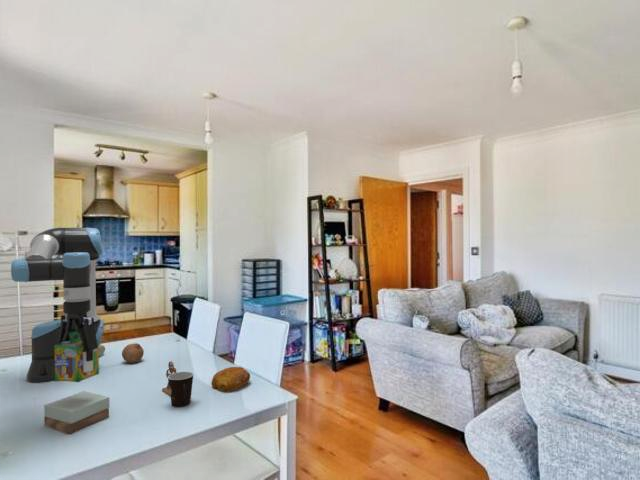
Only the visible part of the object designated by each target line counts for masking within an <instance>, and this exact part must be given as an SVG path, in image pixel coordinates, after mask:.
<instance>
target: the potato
mask: <svg viewBox="0 0 640 480" xmlns="http://www.w3.org/2000/svg"><path fill="white" fill-rule="evenodd" d="M250 379H251V374H250V373H249V371H248V370H247V369H245V368H243V367H242V366H231V367H225V368H224V369H222V370H219V371H218V372H215V374H214V375H213V376H212V379H211V383H210V384H211V386H212V389H214V390H218V391H219V392H220V391H221V392H224V393H228V392H229V393H231V392H234V391H235V390H236V391H237V390H238V389H240V388H242V387H243V386H245V385H247V384H248V382H249V381H250Z"/></svg>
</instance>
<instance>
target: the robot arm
mask: <svg viewBox="0 0 640 480" xmlns="http://www.w3.org/2000/svg"><path fill="white" fill-rule="evenodd" d="M103 254H104V250H103V244H102V237H101V232H100V230H99V229H98V228H96V227H53V228H49V229H47V230H44V231H42V232H40V233H38V234H36V235H35V236H34V237H33V238H32V239H31V241H30V244H29V251H28V252H27V254H26V256H25V257H24V258H15V259H13V260H12V262H11V265H10V276H11V279H12V281H14V282H15V283H16V282H17V283H18V282H19V283H28V282H31V283H32V282H45V281H46V282H47V281H62V282H63V284H62V285H63V286H62V287H63V291H62V294H63V296H62V297H63V300H64V301H63V303H62V304H63V306H62V308H63V309H62V310H63V311H62V312H63V315H61V316H60V319H56V320H50V321H47V322H45V321H44V322H41V323H39V324H36V325H34V327H32V329H31V337H30V339H31V361H30V365H29V368H28V370H27V374H26V381H27V382H29V383H44V382H51V381H55V347H54V345H56V344H59V343H62V342H65V341H69V340H70V337H69V333H71V332H74V331H77V332H78V333H79V335H80V338H81V341H82V344H83V347H84V350H83V372H88V371H91V370H93V350H94V349H97V348H98V344H97V340H99V345H100V344H101V343H102V338H103V331H104V320H103V319H101V318H100V317H101V316H100V315H98V314H97V299H96V297H97V295H96V293H97V291H96V287H97V286H96V285H97V284H96V283H97V282H96V278H97V277H96V263H97V261H99V260H100V256H101V255H103ZM54 256H62V257H54ZM73 339H78V335H74V336H73Z"/></svg>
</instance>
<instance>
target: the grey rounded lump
mask: <svg viewBox="0 0 640 480" xmlns="http://www.w3.org/2000/svg"><path fill="white" fill-rule="evenodd" d="M105 351H106V347H105V346H104V345H103V344H101V343H100V345H99V357H100V356H102V355H104V353H105Z"/></svg>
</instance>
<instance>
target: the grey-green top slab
mask: <svg viewBox="0 0 640 480" xmlns="http://www.w3.org/2000/svg"><path fill="white" fill-rule="evenodd" d="M43 406H44V409H43V411H44V413H43V414H44V415H43V416H45V417H49V418H52V419H56V420H59V421H62V422H66V423H69V424H72V423H74V422H77V421H79V420H81V419H84V418H86V417H88V416H91V415H93V414H95V413H98V412H100V411H102V410H105V409H107V408H109V409H110V396H106V395H101V394H97V393H93V392H89V391H86V390H82V391H79V392H78V393H74V394H72V395H69V396H66V397H63V398H60V399H58V400H54V401H51V402H50V403H46V404H44V405H43Z"/></svg>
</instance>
